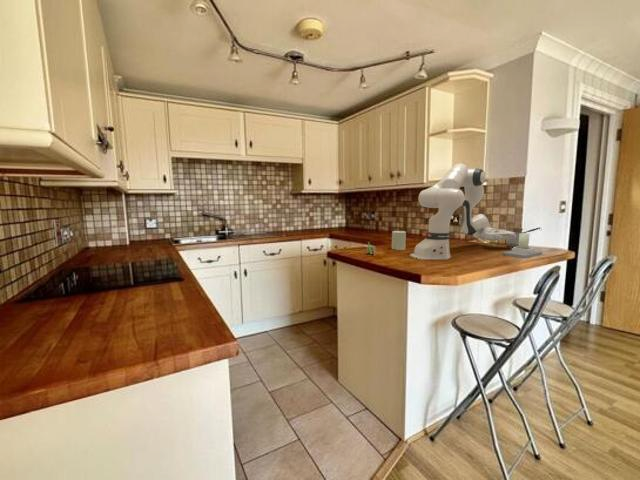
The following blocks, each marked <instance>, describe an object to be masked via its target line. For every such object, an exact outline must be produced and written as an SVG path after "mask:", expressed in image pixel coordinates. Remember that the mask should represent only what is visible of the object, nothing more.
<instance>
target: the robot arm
mask: <svg viewBox="0 0 640 480" xmlns="http://www.w3.org/2000/svg"><path fill="white" fill-rule="evenodd" d="M485 180H486V173H485V171H484V170H483V169H482V168H468V166H467V165H466V164H464V163H456V164H455V165H453V166H451V167H450V169H449V170H448V171H447V172H446V173H445V175H444V176H443V177H442V178H441V179H440V181H438V182H437V183H436V184H434V185H432V186H430V187H427V188H426V189H423V190H421V191H420V193H419V194H418V199H417V200H418V203H419V205H420V206H421V207H425V208H428V209H430V208H431V209H438V211H437V212H436V214H433V215H432V216H431V217H430V218H429V221H428V231H427V233H426V232H422V237H425V238H424V239H423V240H422V241H420V242H418V243H417V244H416V245H415V247H414V250H413V253H410V255H409V256H410V257H411V258H414V259H416V258H417V259H416V260H422V261H423V260H429V261H430V260H434V261H435V260H437V261H439V260H440V261H441V260H447V261H448V260H449V259H451V258H452V255H451V252H450V237H451V236H450V235H451V233H450V225H451V220H452V217H453V214H454V213H455V212H456V210H458V209H459V208H461V216H462V218H461V219H462V220H461V231H462V232H463V234H465V235H467V236H474V237H475V238H476V239H481V240H486V241H491V242H496V241H500V240H504V239H507V240H508V239H509V238H516V235H515V233H514V232H513V231H510V230H506V229H503V228H501V229H500V228H495V227H491V220H490V218H489V217H488V215H485V214H483V213H478V214H477V215H475V216H473V217H472V211H473V210H474V208H475V206H477V205H478V203H480V201H482V199H483V198H484V194H485V189H484V183H485ZM463 187H464V192H463V190H462V189H461V188H463Z"/></svg>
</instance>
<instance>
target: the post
mask: <svg viewBox="0 0 640 480" xmlns="http://www.w3.org/2000/svg"><path fill="white" fill-rule="evenodd" d="M529 243H530V233H528V232H527V233H519V243H518V248H521V249H528V248H529Z"/></svg>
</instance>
